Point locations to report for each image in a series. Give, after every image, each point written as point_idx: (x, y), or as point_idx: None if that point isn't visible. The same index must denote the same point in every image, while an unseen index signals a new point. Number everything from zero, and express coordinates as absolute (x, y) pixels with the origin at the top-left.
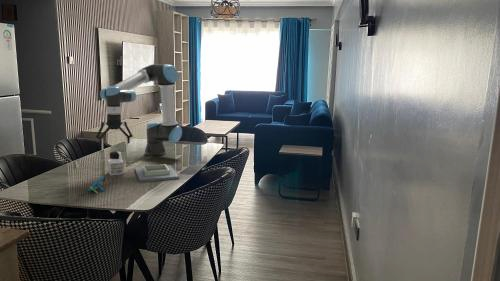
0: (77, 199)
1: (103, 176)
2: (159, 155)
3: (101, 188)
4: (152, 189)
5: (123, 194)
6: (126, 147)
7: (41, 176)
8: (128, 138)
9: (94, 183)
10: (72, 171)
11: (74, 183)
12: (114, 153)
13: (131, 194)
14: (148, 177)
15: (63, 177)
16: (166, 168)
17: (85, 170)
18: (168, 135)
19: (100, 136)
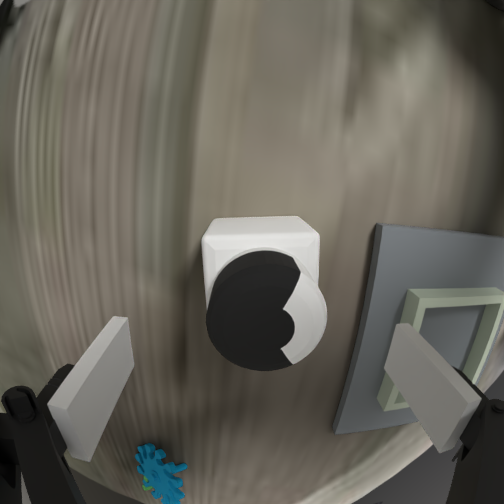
0: (121, 481)
1: (180, 497)
2: (500, 9)
3: (178, 471)
4: (340, 479)
5: (246, 494)
6: (393, 373)
7: None
8: (467, 432)
9: (155, 498)
10: (29, 143)
11: (64, 359)
12: (251, 365)
13: (269, 497)
14: (377, 415)
15: (7, 249)
16: (479, 354)
17: (83, 134)
18: None
19: (22, 439)
